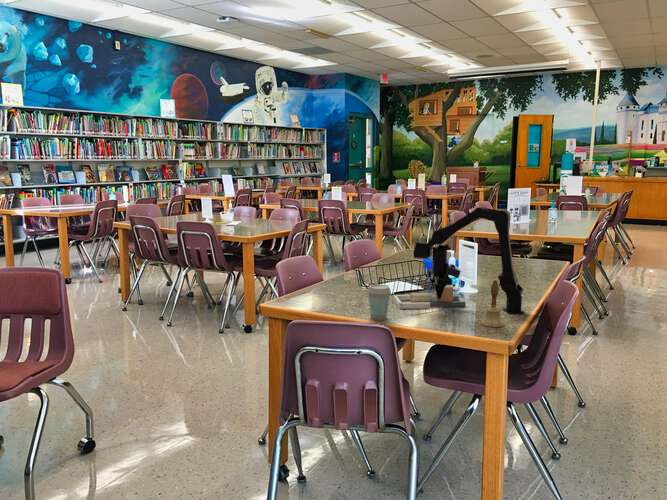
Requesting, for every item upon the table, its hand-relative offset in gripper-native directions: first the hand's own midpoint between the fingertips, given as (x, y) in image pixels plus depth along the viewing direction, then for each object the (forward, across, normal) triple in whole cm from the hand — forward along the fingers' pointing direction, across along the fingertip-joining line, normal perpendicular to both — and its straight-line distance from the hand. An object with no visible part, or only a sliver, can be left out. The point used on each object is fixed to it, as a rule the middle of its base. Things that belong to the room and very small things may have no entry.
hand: (438, 297), depth 239 cm
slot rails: (+2, 0, -2) cm, 3 cm away
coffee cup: (+2, -20, +28) cm, 34 cm away
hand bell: (+3, -30, -12) cm, 33 cm away
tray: (+2, 0, +11) cm, 11 cm away
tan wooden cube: (+2, 0, +9) cm, 10 cm away
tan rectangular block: (+2, 0, -2) cm, 3 cm away
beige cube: (+2, 0, +5) cm, 6 cm away
